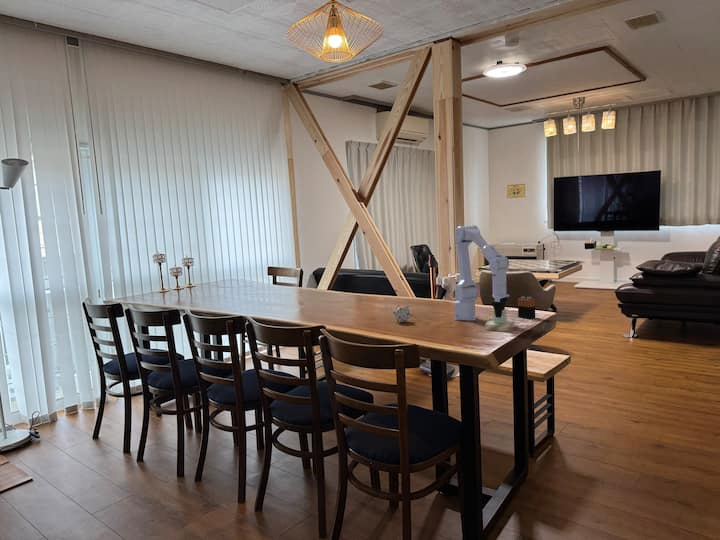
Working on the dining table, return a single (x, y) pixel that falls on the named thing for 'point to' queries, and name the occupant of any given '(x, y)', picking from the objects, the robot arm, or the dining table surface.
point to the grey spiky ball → (402, 314)
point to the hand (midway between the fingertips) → (499, 315)
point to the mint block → (502, 319)
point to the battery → (526, 307)
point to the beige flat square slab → (500, 325)
